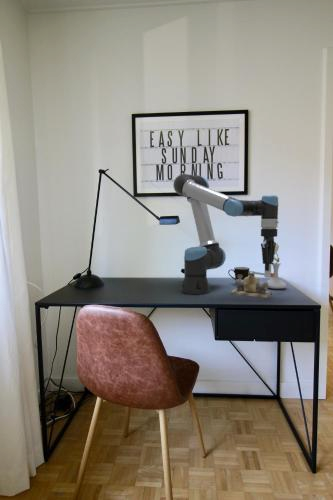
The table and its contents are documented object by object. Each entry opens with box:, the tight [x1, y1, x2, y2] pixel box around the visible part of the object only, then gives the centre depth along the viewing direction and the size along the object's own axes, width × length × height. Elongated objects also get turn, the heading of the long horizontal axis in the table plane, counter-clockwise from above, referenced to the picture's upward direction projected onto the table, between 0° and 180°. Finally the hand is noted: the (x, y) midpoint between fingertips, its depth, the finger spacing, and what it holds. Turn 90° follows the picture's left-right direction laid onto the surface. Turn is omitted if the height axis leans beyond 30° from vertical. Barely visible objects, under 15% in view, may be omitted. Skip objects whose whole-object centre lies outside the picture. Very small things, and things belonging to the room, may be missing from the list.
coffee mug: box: [227, 266, 250, 281], centre depth 188 cm, size 12×9×10 cm
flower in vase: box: [266, 243, 287, 290], centre depth 177 cm, size 13×11×25 cm
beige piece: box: [230, 274, 273, 299], centre depth 166 cm, size 18×10×10 cm, turn 57°
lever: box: [249, 270, 274, 278], centre depth 162 cm, size 14×3×2 cm, turn 41°
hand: (267, 277), depth 157 cm, fingers closed
